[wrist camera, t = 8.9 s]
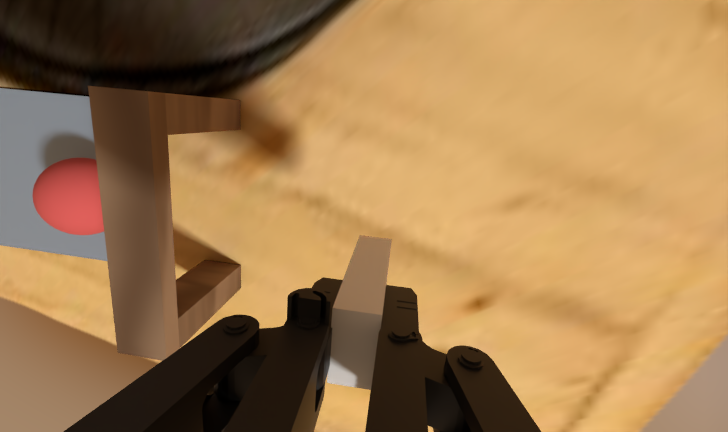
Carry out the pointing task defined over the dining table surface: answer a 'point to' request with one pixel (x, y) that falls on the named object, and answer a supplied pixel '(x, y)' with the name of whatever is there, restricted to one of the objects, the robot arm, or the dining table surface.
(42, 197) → the ball
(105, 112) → the bridge
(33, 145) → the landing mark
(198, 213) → the dining table surface
